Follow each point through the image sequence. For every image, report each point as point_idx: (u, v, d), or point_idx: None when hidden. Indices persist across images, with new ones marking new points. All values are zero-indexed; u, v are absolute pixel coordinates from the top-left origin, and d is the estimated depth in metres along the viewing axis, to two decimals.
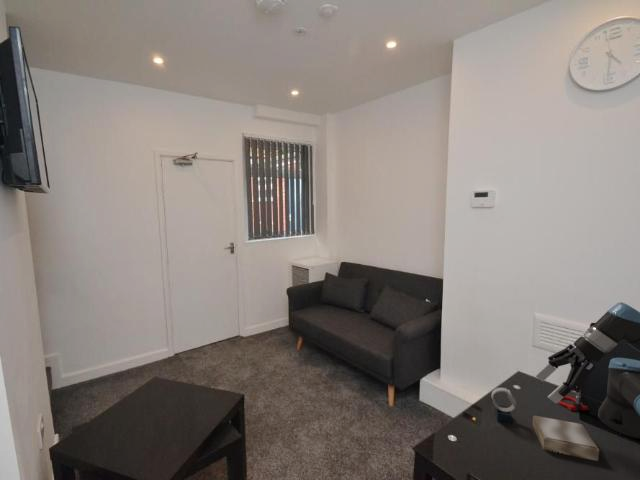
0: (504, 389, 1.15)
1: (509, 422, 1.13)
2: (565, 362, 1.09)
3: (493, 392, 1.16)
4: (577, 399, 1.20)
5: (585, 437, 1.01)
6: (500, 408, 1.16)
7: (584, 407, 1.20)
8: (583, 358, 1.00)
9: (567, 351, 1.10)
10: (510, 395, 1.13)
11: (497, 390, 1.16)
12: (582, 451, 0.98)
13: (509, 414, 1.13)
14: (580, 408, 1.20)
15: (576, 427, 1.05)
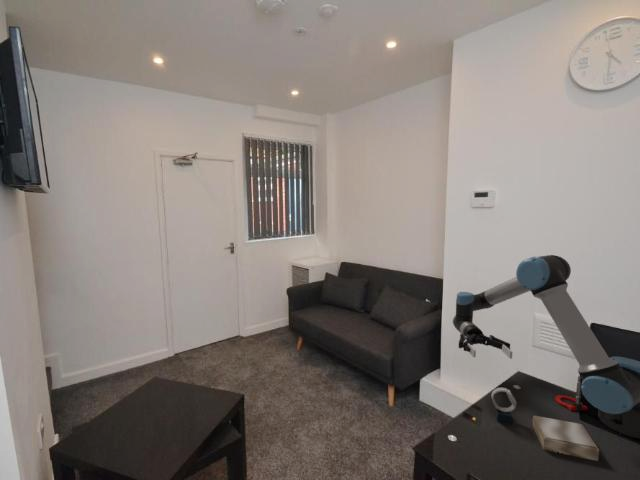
0: (504, 389, 1.15)
1: (509, 422, 1.13)
2: (491, 342, 1.34)
3: (493, 392, 1.16)
4: (577, 399, 1.20)
5: (585, 437, 1.01)
6: (500, 408, 1.16)
7: (584, 407, 1.20)
8: None
9: None
10: (510, 395, 1.13)
11: (497, 390, 1.16)
12: (582, 451, 0.98)
13: (509, 414, 1.13)
14: (580, 408, 1.20)
15: (576, 427, 1.05)
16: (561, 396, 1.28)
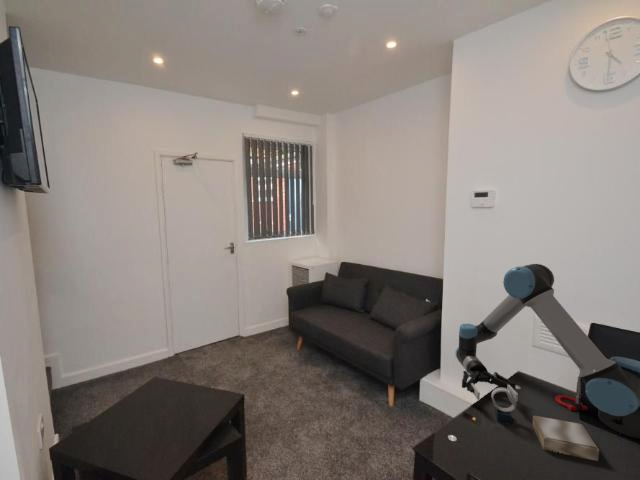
0: (504, 389, 1.15)
1: (509, 422, 1.13)
2: (495, 380, 1.29)
3: (493, 392, 1.16)
4: (577, 399, 1.20)
5: (585, 437, 1.01)
6: (500, 408, 1.16)
7: (584, 407, 1.20)
8: None
9: None
10: (510, 395, 1.13)
11: (497, 390, 1.16)
12: (582, 451, 0.98)
13: (509, 414, 1.13)
14: (580, 408, 1.20)
15: (576, 427, 1.05)
16: (561, 396, 1.28)
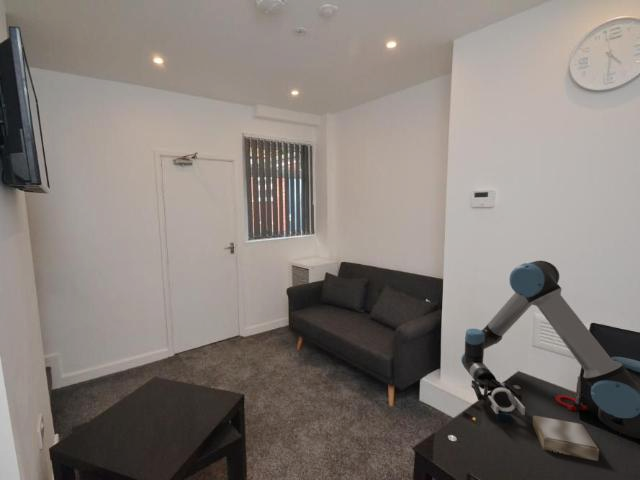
0: (504, 389, 1.15)
1: (509, 422, 1.13)
2: None
3: (493, 392, 1.16)
4: (577, 399, 1.20)
5: (585, 437, 1.01)
6: (500, 408, 1.16)
7: (584, 407, 1.20)
8: None
9: None
10: (510, 395, 1.13)
11: (497, 390, 1.16)
12: (582, 451, 0.98)
13: (509, 414, 1.13)
14: (580, 408, 1.20)
15: (576, 427, 1.05)
16: (561, 396, 1.28)
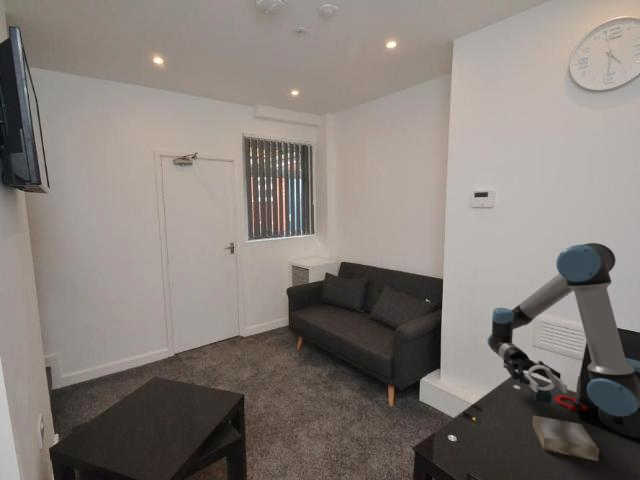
0: (542, 366, 1.07)
1: (549, 401, 1.05)
2: (538, 369, 1.14)
3: (530, 370, 1.08)
4: (577, 399, 1.20)
5: (585, 437, 1.01)
6: (538, 387, 1.08)
7: (584, 407, 1.20)
8: None
9: None
10: (550, 372, 1.05)
11: (535, 367, 1.07)
12: (582, 451, 0.98)
13: (549, 393, 1.05)
14: (580, 408, 1.20)
15: (576, 427, 1.05)
16: (561, 396, 1.28)
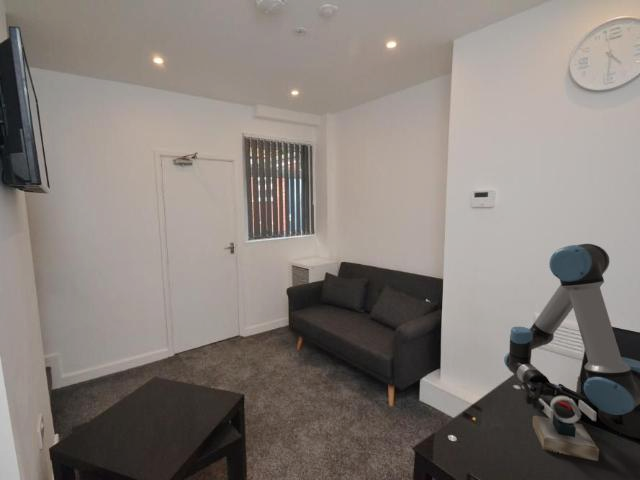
0: (566, 398, 1.03)
1: (573, 435, 1.01)
2: (562, 394, 1.10)
3: (553, 401, 1.04)
4: None
5: (585, 437, 1.01)
6: (561, 419, 1.04)
7: None
8: None
9: None
10: (574, 404, 1.01)
11: (558, 399, 1.03)
12: (582, 451, 0.98)
13: (572, 426, 1.01)
14: None
15: (576, 427, 1.05)
16: None
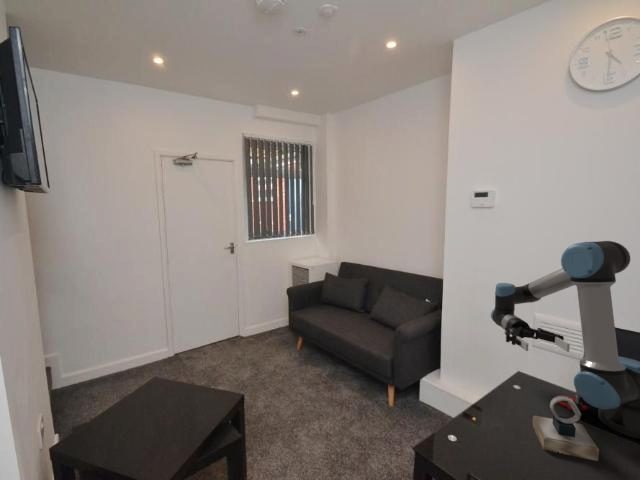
0: (566, 398, 1.03)
1: (573, 435, 1.01)
2: (541, 335, 1.22)
3: (553, 401, 1.04)
4: (577, 399, 1.20)
5: (585, 437, 1.01)
6: (561, 419, 1.04)
7: (584, 407, 1.20)
8: None
9: None
10: (574, 405, 1.01)
11: (558, 399, 1.03)
12: (582, 451, 0.98)
13: (572, 426, 1.01)
14: (580, 408, 1.20)
15: (576, 427, 1.05)
16: None
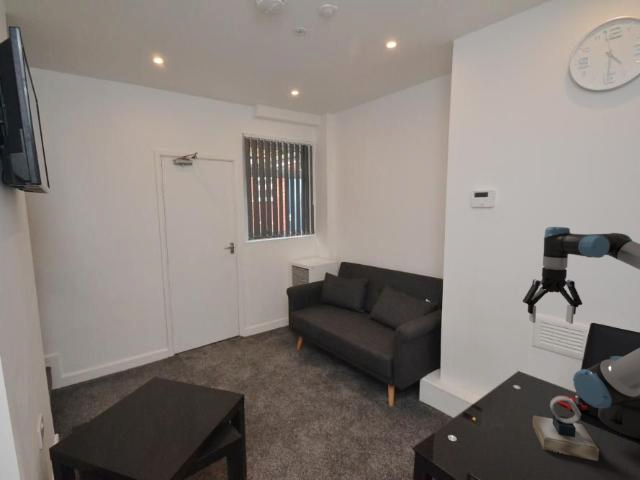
0: (566, 398, 1.03)
1: (573, 435, 1.01)
2: (564, 295, 1.22)
3: (553, 401, 1.04)
4: (577, 399, 1.20)
5: (585, 437, 1.01)
6: (561, 419, 1.04)
7: (584, 407, 1.20)
8: None
9: (568, 286, 1.23)
10: (574, 405, 1.01)
11: (558, 399, 1.03)
12: (582, 451, 0.98)
13: (572, 426, 1.01)
14: (580, 408, 1.20)
15: (576, 427, 1.05)
16: None
